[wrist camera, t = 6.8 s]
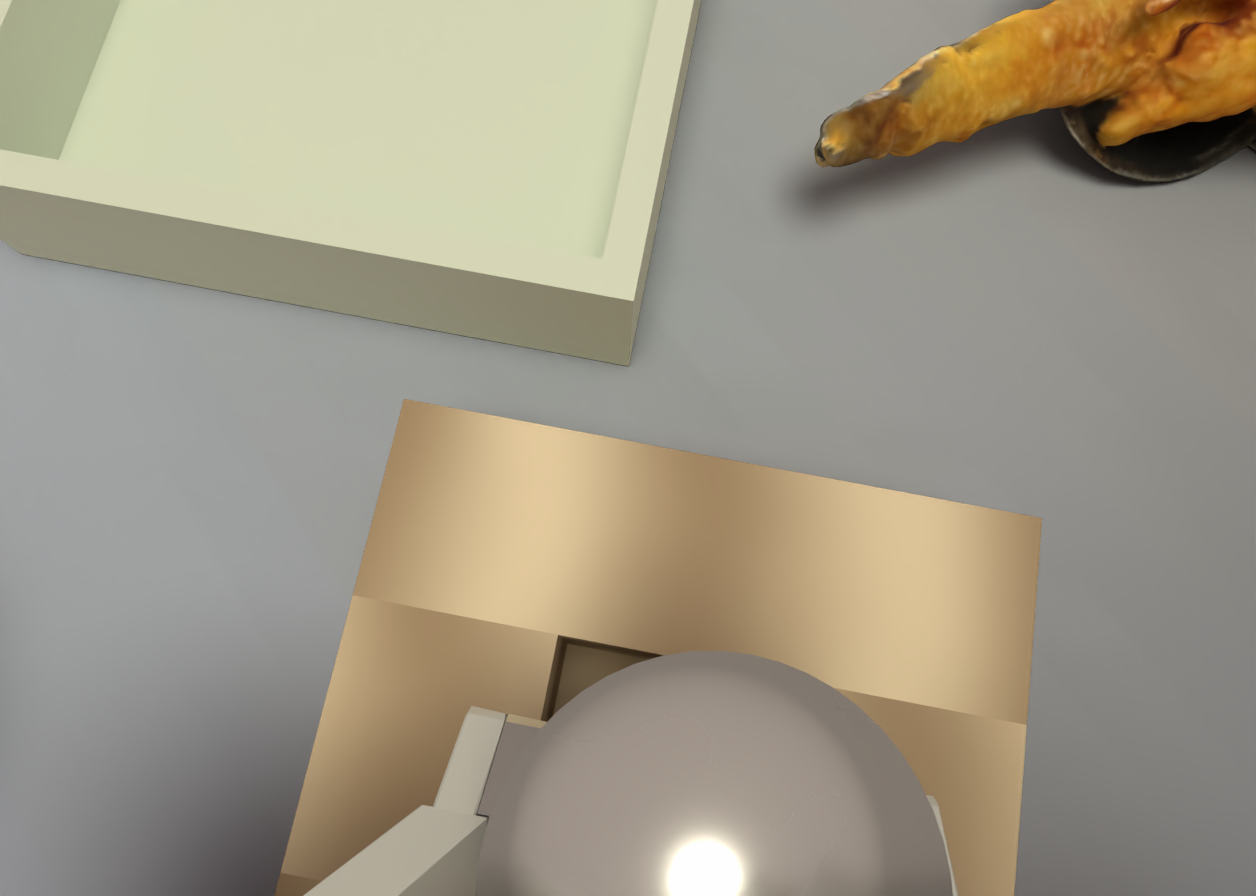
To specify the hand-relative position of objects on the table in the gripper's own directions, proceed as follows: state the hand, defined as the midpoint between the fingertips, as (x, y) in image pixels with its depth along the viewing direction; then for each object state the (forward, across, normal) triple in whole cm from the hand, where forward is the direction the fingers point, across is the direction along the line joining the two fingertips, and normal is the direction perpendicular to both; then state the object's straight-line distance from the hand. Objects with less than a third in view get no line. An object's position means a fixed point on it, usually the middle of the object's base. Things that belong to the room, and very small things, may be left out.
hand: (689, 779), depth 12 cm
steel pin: (+5, 0, +6) cm, 7 cm away
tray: (+18, +10, -6) cm, 21 cm away
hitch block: (+6, 0, +6) cm, 8 cm away
